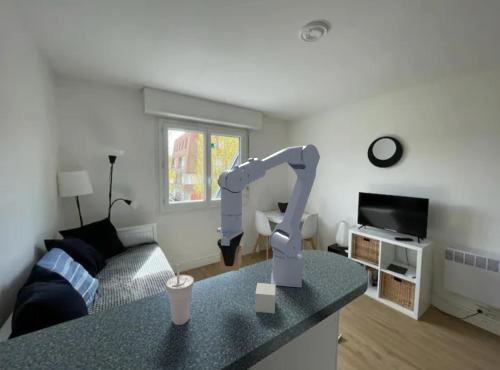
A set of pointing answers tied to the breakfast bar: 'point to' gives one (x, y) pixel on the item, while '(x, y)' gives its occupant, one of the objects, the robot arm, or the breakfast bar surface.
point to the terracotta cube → (236, 261)
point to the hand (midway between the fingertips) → (231, 261)
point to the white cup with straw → (180, 296)
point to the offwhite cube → (265, 298)
